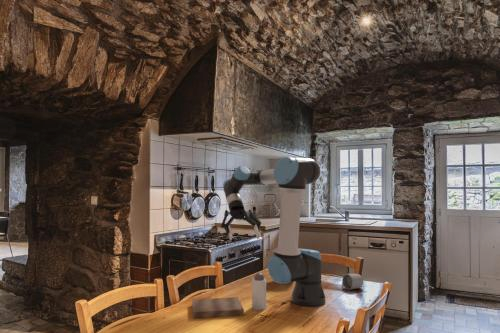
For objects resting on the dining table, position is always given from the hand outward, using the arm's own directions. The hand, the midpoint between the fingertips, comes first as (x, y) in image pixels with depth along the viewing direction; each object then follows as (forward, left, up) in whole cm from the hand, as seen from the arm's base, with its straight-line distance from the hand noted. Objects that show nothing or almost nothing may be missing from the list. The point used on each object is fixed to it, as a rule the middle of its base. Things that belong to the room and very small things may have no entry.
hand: (245, 237), depth 168 cm
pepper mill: (-4, +15, -28) cm, 32 cm away
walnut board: (+14, +15, -28) cm, 34 cm away
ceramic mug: (-56, -7, -28) cm, 63 cm away
